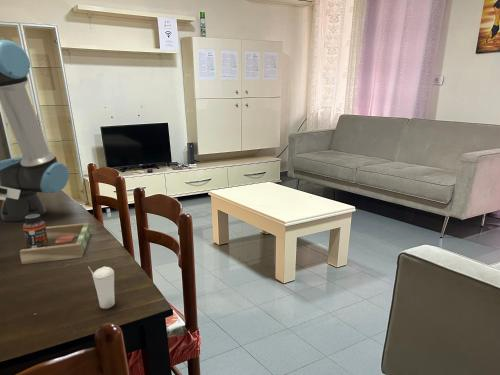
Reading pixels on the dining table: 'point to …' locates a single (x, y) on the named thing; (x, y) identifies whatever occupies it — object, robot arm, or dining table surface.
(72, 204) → the dining table surface
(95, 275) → the milkshake
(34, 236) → the supplement bottle
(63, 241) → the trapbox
